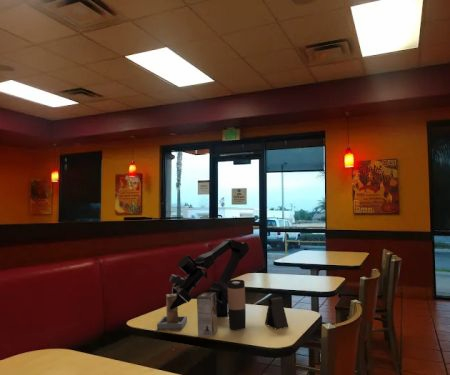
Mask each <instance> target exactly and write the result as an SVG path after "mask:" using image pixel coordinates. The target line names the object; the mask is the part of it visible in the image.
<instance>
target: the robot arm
mask: <svg viewBox="0 0 450 375" xmlns="http://www.w3.org/2000/svg"><path fill="white" fill-rule="evenodd" d="M229 250H230V258H229V260H228V262H227V263H226V266H225V267H224V270H223V271H222V273H221V276H220V277H219V278H218V279H219V280H218V281H213V282H212V284H211V286H210V288H209V292H216V304H217V318H229V315H228V281H230V280H232V277H233V275H234V273H235V271H236V269H237V268H238V265H239V263H240V261H241V260H242V259H243V258H245V257H246V255H247V254H248V253H249V250H250V248H249V245H248V243H247V242H240V241H237V240H235V239H231V238H226V239H224V241H223V242H221V243H220V244H218V245H217V246H216V247H214V248H213V249H211V250H210V251H208V252H206V253H202V254H200V255H197V257H196V258H195V259H193V258H192V257H191V256H190V255H187V254H185V256H184V257H182V258H181V259H179V261H178V262H177V267H178V268H180V270H182V271H183V272H184V273H185V274H186V275H185V276H183V277H182V276H181V275H178V274H177V275H176V274H173V273H171V275H170V278H169V280H168V281H169V282H170V283H172V287H171V294H176V299H175V300H174V302H173V303H172V305H171V306H170V309H171V310H172V309H174V308H176V307H180V306H183V305H184V304H188V303H189V302H190V301H191V300H192V295H191V291H192V290H193V289H196V287H197V284H198V283H199V282H200V281H201V279H203V277H204V278H206V279H208V271H207V270H208V269H211V268H212V267H213V265H215V263H216V260H217V259H218V258H220V257H221V256H222V255H224V254H225V253H227V252H228V251H229ZM203 269H204V270H203Z"/></svg>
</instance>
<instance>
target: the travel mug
mask: <svg viewBox="0 0 450 375" xmlns="http://www.w3.org/2000/svg"><path fill="white" fill-rule="evenodd" d="M245 284H246V283H245V280H243V279H231V280H230V281H228V293H227V295H228V325H229V326H228V327H229V329H230V330H233V331H241V330H244V329H246V324H247V322H246V318H247V317H246V313H247V312H246V306H247V305H246V287H245V286H246V285H245Z"/></svg>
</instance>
